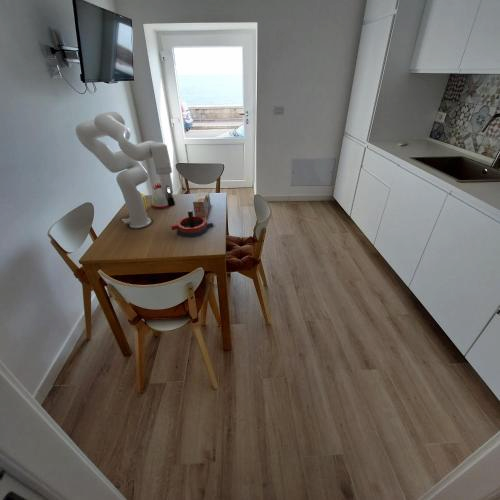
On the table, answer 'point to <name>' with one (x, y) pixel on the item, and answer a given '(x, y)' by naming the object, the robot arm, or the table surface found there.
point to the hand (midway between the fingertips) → (170, 202)
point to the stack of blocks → (202, 204)
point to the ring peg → (191, 220)
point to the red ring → (193, 229)
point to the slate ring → (209, 224)
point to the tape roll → (144, 202)
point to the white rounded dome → (159, 198)
